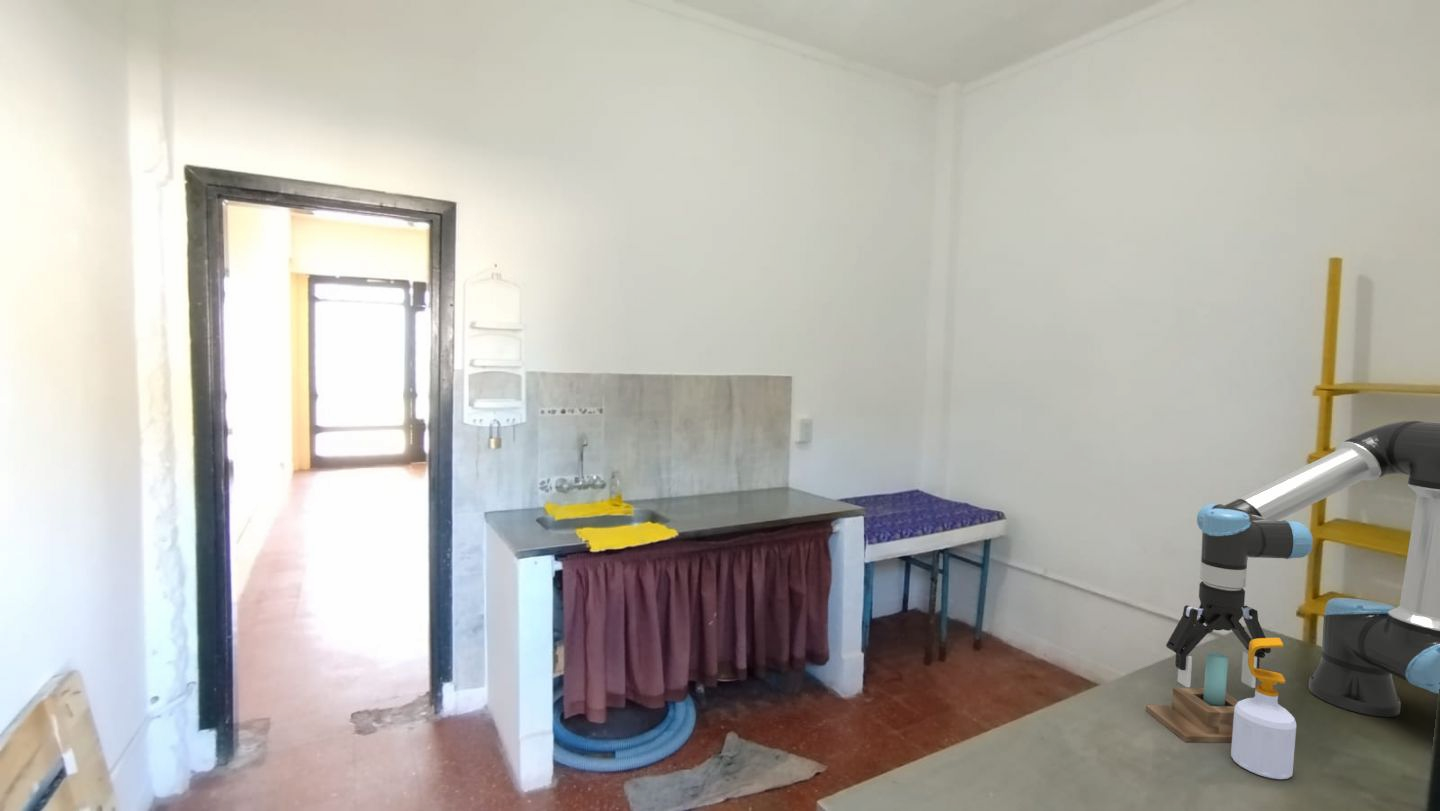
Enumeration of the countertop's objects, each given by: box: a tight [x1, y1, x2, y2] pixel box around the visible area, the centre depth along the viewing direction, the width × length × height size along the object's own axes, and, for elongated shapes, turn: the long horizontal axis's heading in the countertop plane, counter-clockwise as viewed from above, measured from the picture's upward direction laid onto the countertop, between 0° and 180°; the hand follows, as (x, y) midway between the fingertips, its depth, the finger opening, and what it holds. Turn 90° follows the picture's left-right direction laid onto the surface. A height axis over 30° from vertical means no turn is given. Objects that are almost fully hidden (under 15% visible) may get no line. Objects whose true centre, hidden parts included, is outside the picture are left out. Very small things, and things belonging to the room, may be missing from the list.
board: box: [1145, 687, 1240, 744], centre depth 138 cm, size 20×12×6 cm, turn 91°
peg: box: [1203, 651, 1229, 706], centre depth 138 cm, size 4×4×14 cm
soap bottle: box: [1230, 637, 1297, 780], centre depth 124 cm, size 9×9×25 cm
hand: (1215, 684), depth 138 cm, fingers open, 13 cm apart
